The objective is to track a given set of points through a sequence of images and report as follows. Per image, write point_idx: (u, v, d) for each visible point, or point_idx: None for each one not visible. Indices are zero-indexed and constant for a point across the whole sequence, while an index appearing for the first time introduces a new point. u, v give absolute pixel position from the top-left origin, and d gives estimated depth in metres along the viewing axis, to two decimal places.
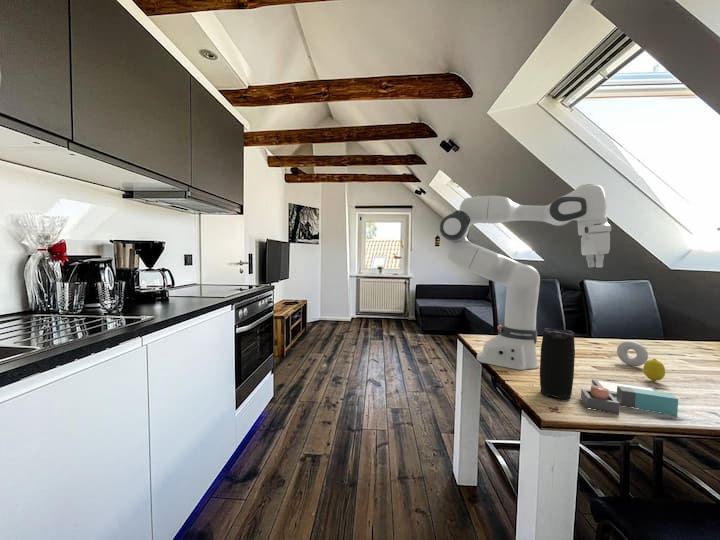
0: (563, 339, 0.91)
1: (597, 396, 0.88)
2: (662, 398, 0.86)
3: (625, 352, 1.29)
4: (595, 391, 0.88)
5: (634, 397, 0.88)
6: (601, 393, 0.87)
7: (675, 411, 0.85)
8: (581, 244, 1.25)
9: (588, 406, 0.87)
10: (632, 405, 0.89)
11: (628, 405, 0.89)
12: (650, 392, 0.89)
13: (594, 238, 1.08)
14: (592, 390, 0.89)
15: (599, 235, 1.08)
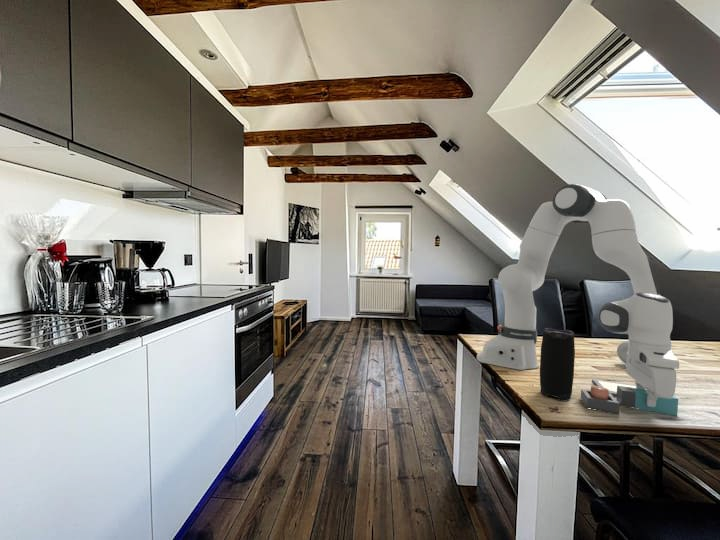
0: (563, 339, 0.91)
1: (597, 396, 0.88)
2: (662, 398, 0.86)
3: (625, 352, 1.29)
4: (595, 391, 0.88)
5: (634, 397, 0.88)
6: (601, 393, 0.87)
7: (675, 411, 0.85)
8: (627, 360, 0.97)
9: (588, 406, 0.87)
10: (632, 405, 0.89)
11: (628, 405, 0.89)
12: None
13: (654, 375, 0.81)
14: (592, 390, 0.89)
15: (662, 373, 0.80)
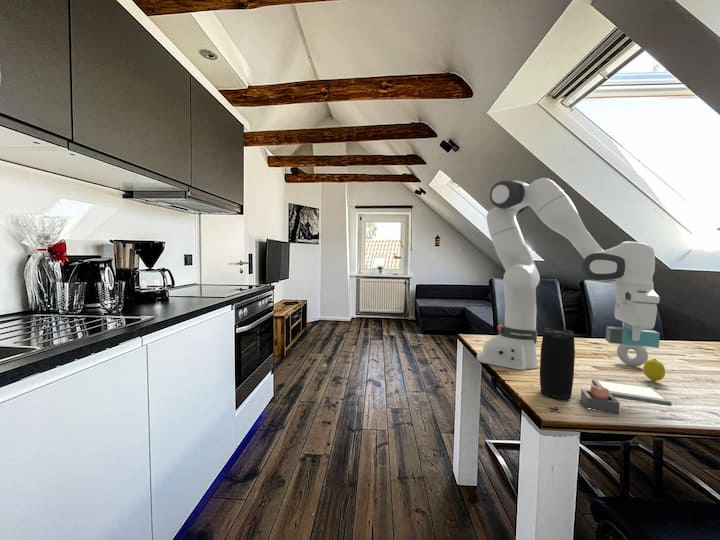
0: (563, 339, 0.91)
1: (597, 396, 0.88)
2: (645, 333, 0.97)
3: (625, 352, 1.29)
4: (595, 391, 0.88)
5: (621, 333, 0.99)
6: (601, 393, 0.87)
7: (657, 344, 0.96)
8: (616, 306, 1.08)
9: (588, 406, 0.87)
10: (619, 341, 0.99)
11: (615, 341, 1.00)
12: None
13: (637, 309, 0.92)
14: (592, 390, 0.89)
15: (644, 307, 0.91)
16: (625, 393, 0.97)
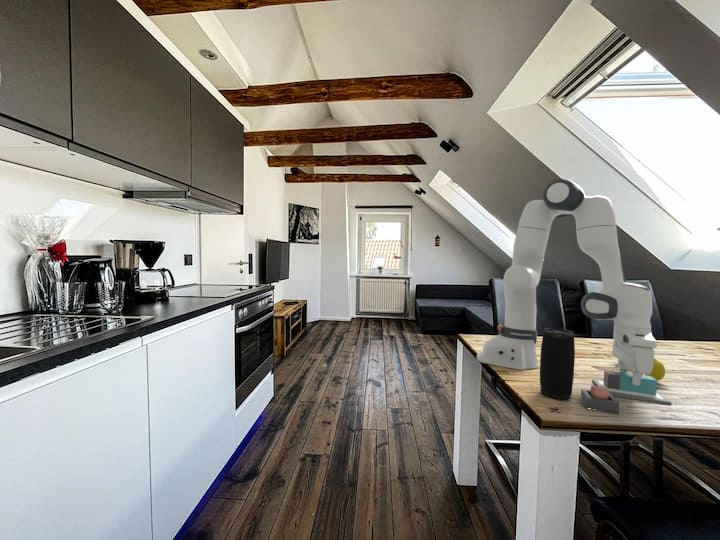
0: (563, 339, 0.91)
1: (597, 396, 0.88)
2: (643, 379, 0.97)
3: None
4: (595, 391, 0.88)
5: (619, 379, 1.00)
6: (601, 393, 0.87)
7: (654, 391, 0.96)
8: (614, 343, 1.08)
9: (588, 406, 0.87)
10: (617, 386, 1.00)
11: (613, 386, 1.00)
12: None
13: (635, 354, 0.92)
14: (592, 390, 0.89)
15: (641, 352, 0.91)
16: (625, 393, 0.97)
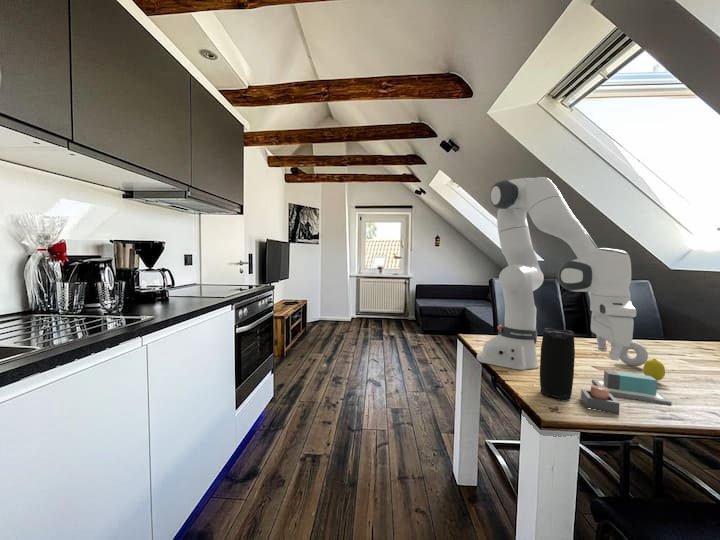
0: (563, 339, 0.91)
1: (597, 396, 0.88)
2: (643, 379, 0.97)
3: (625, 352, 1.29)
4: (595, 391, 0.88)
5: (619, 379, 1.00)
6: (601, 393, 0.87)
7: (654, 391, 0.96)
8: (591, 318, 0.98)
9: (588, 406, 0.87)
10: (617, 386, 1.00)
11: (613, 386, 1.00)
12: (633, 375, 1.00)
13: (612, 324, 0.82)
14: (592, 390, 0.89)
15: (619, 322, 0.81)
16: (625, 393, 0.97)
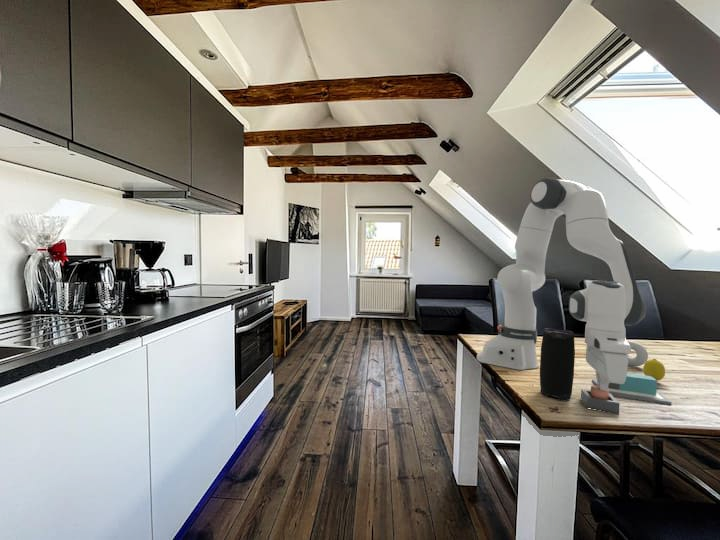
0: (563, 339, 0.91)
1: (597, 396, 0.88)
2: (643, 379, 0.97)
3: None
4: (595, 391, 0.88)
5: None
6: (601, 393, 0.87)
7: (654, 391, 0.96)
8: (586, 348, 0.97)
9: (588, 406, 0.87)
10: (617, 386, 1.00)
11: (613, 386, 1.00)
12: (633, 375, 1.00)
13: (606, 361, 0.81)
14: (592, 390, 0.89)
15: (614, 359, 0.80)
16: (625, 393, 0.97)
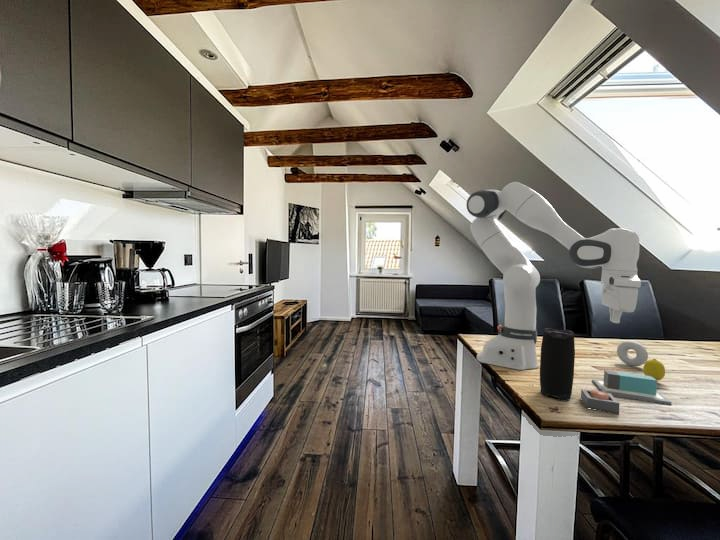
0: (563, 339, 0.91)
1: None
2: (643, 379, 0.97)
3: (625, 352, 1.29)
4: (595, 396, 0.88)
5: (619, 379, 1.00)
6: (600, 398, 0.87)
7: (654, 391, 0.96)
8: (602, 292, 1.11)
9: (588, 406, 0.87)
10: (617, 386, 1.00)
11: (613, 386, 1.00)
12: (633, 375, 1.00)
13: (619, 293, 0.95)
14: (592, 395, 0.89)
15: (626, 291, 0.94)
16: (625, 393, 0.97)
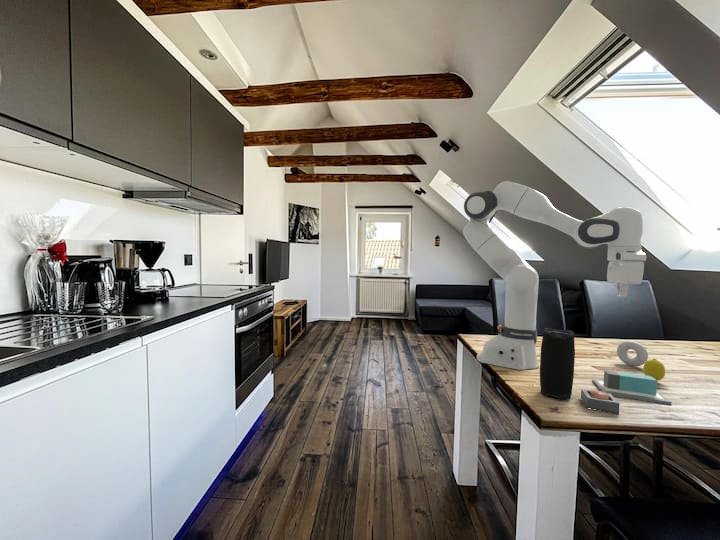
0: (563, 339, 0.91)
1: None
2: (643, 379, 0.97)
3: (625, 352, 1.29)
4: (595, 396, 0.88)
5: (619, 379, 1.00)
6: (600, 398, 0.87)
7: (654, 391, 0.96)
8: (608, 269, 1.17)
9: (588, 406, 0.87)
10: (617, 386, 1.00)
11: (613, 386, 1.00)
12: (633, 375, 1.00)
13: (626, 266, 1.00)
14: (592, 395, 0.89)
15: (632, 264, 1.00)
16: (625, 393, 0.97)
